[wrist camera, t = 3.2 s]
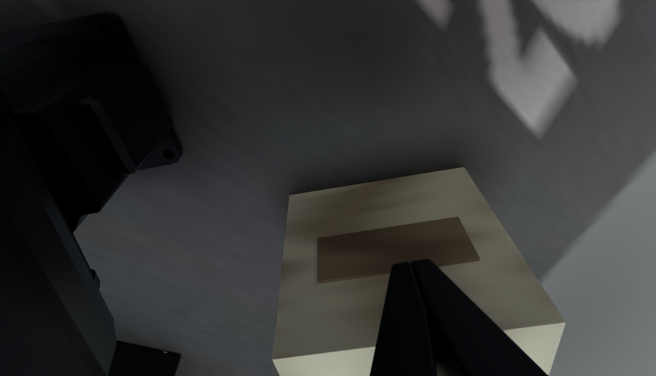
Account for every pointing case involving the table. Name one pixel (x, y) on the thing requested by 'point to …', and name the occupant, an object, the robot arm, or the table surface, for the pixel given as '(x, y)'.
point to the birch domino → (375, 265)
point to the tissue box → (142, 362)
